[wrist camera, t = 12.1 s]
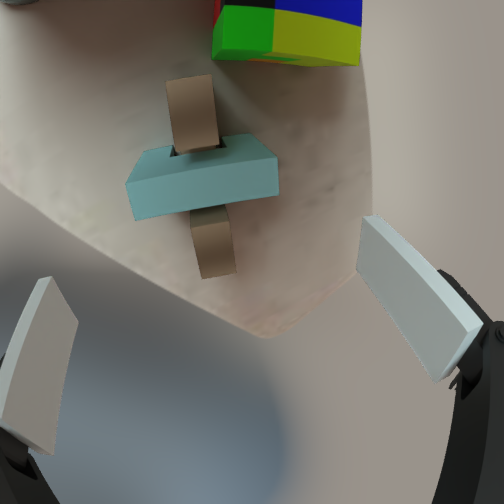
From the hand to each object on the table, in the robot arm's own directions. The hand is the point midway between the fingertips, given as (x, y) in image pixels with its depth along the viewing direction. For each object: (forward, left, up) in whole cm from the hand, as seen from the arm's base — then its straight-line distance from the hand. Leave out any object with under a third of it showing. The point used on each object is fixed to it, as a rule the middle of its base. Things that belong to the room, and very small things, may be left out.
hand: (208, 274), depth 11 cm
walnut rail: (+1, 0, -21) cm, 21 cm away
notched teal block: (+1, 0, -21) cm, 21 cm away
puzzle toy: (-13, +8, -21) cm, 26 cm away
